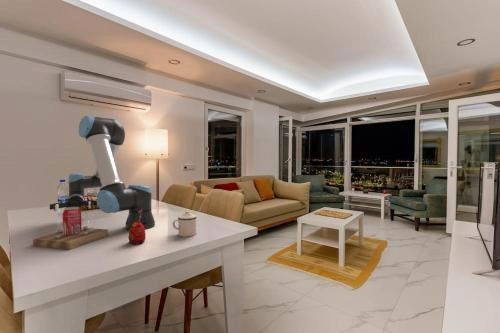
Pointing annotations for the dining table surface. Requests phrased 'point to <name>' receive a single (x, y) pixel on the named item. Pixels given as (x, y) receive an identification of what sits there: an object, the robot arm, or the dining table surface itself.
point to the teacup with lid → (186, 224)
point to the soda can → (71, 221)
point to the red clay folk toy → (137, 232)
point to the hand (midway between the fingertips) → (73, 207)
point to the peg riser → (70, 238)
